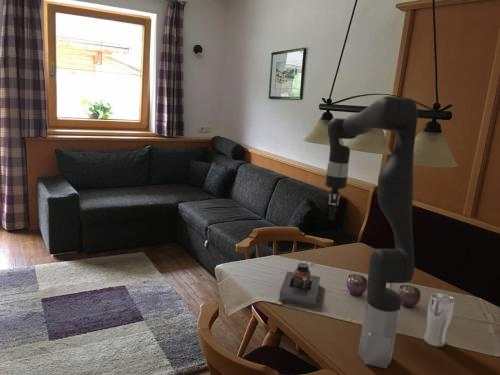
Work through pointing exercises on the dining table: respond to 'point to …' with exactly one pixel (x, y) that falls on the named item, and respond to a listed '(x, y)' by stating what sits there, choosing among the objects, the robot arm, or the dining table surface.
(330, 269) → the dining table surface
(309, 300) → the rack block
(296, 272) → the supplement bottle
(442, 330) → the beer glass
